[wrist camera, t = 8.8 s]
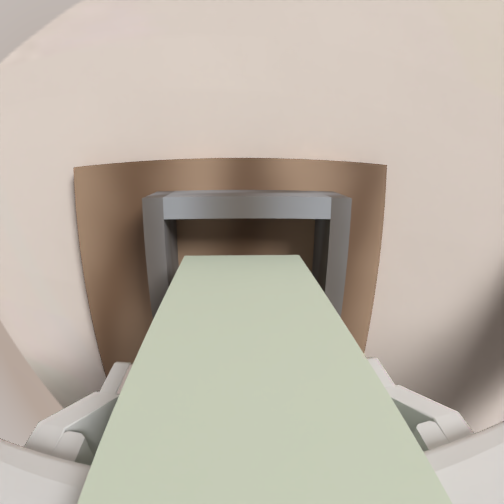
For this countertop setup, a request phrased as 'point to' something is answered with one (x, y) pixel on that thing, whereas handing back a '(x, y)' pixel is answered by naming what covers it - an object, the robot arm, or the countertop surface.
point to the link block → (255, 401)
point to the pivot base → (223, 232)
